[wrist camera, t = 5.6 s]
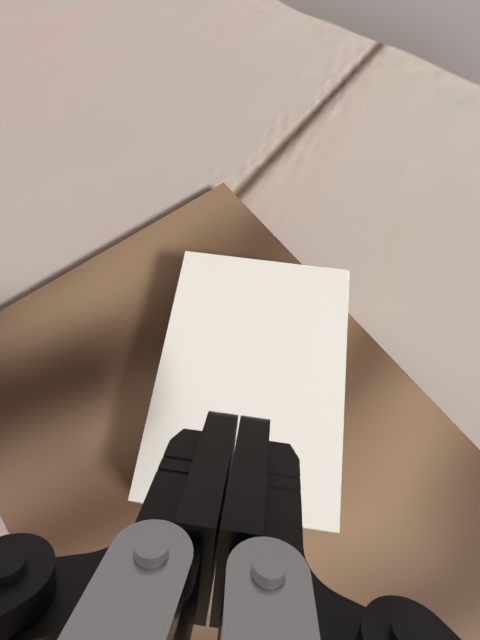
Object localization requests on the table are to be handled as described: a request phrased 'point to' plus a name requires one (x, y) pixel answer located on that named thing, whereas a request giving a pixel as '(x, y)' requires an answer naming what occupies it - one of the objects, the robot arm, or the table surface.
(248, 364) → the block
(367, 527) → the board
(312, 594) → the robot arm
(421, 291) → the table surface
